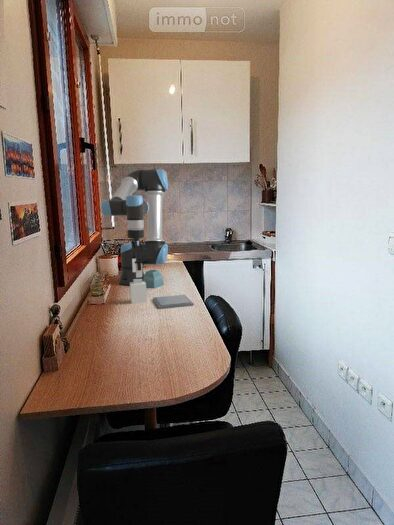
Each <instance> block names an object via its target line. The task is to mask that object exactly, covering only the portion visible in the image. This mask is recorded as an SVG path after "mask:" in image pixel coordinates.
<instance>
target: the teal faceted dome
mask: <svg viewBox="0 0 394 525" xmlns="http://www.w3.org/2000/svg"><path fill="white" fill-rule="evenodd" d="M143 282H145V283H146V289H152V290H153V289H157V288H159V287H162V286H164V279H163V275H162V273H161V272H160V270H157V269H150V270H147V271H145V273H144V277H143Z"/></svg>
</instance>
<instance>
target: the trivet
mask: <svg viewBox="0 0 394 525" xmlns="http://www.w3.org/2000/svg"><path fill="white" fill-rule="evenodd" d="M152 301H153V302H154V304H155V305H156V307H157V308H158V309H159V310H160V309H161V310H163V309H171V308H181V307H183V308H184V307H191V306H194V302H193V301H192V300H191V299H190V298H189V297H187V295H186V294H177V295H166V296H155V297H152Z"/></svg>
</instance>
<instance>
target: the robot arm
mask: <svg viewBox="0 0 394 525" xmlns="http://www.w3.org/2000/svg"><path fill="white" fill-rule="evenodd" d="M168 190H169V181H168V177H167V173H166V171H165V170H164V169H158V168H155V169H136V170H133V171H131V172H129V173H127V174H126V175H125V176H124V177H123V178H122V179H121V181H120V185H119V187H118V188H117V190H116V191H115V193H114V194H113V195H112V197H111V198H110V199H106V200H102V202H101V205H100V206H101V207H100V208H101V212H102V215H104V216H109V217H114V216H115V217H116V216H121V217H122V216H124V217H125V216H126V222H125V225H127V226H126V227H127V229H128V230H127V232H126V233H127V238H128V239H131V242H127V243H126V242H125V243H123V244H121V246H120V261H121V270H120V274H119V278H118V279H119V280H118V282H119V284H120V285H125V286H130V283H132V282H133V279H142V282H143V277H144V275H145V273H144V271H143V265H150V266H151V265H156V266H157V265H164V264H165V263H166V262H167V259H168V253H169V244H167V243H166V241H165V239H164V238H163V203H164V202H163V201H164V200H163V198H164V195H165V194H166V191H168ZM137 191H144V194H145V195H146V197H147V201H146V200H145V199H144V198H143V196H142V195H141V194H140V195H135V194H134V193H135V192H137ZM133 194H134V195H133ZM146 214H147V219H146V220H147V223H146V224H147V225H146V226H147V232H146V233H147V234H146V235H147V238H145V230H144V228H145V226H144V224H145V222H144V221H145V219H144V215H146ZM143 238H145V240H144V243H142V242H141V240H140V239H143Z"/></svg>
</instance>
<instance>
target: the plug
mask: <svg viewBox="0 0 394 525" xmlns="http://www.w3.org/2000/svg"><path fill="white" fill-rule="evenodd" d="M129 292H130V295H129V296H130V303H131V304H133V305H134V304H141V303H142V304H143V303H144V304H145V303H147V302H148V301H147V298H148V296H147V288H146V283H145V282H142V279H133V282H132V283H130V285H129Z"/></svg>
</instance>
